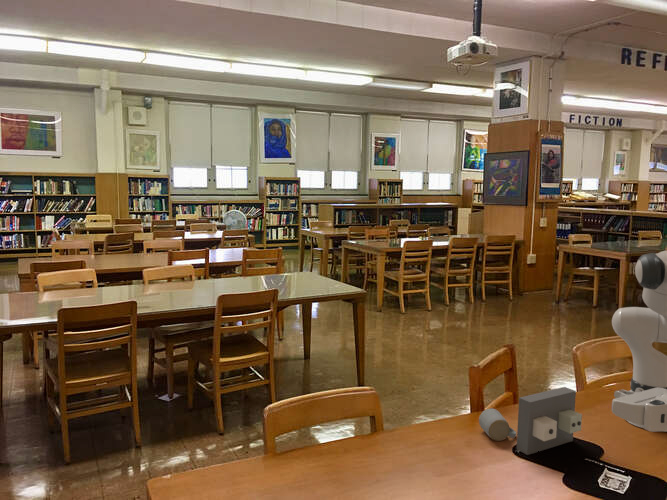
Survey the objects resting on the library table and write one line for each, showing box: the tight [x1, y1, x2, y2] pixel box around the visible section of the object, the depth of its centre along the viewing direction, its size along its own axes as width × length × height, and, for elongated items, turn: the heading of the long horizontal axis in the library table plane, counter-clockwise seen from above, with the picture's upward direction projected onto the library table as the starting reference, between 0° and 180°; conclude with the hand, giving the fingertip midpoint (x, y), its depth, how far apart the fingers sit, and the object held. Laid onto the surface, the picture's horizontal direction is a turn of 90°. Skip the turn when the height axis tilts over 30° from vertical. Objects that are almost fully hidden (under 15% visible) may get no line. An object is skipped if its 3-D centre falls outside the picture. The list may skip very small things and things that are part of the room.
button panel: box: [516, 386, 577, 456], centre depth 158 cm, size 20×4×16 cm, turn 118°
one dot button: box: [532, 416, 557, 441], centre depth 152 cm, size 5×5×5 cm
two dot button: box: [558, 409, 583, 434], centre depth 157 cm, size 5×5×5 cm
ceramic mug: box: [478, 408, 517, 442], centre depth 164 cm, size 11×8×8 cm
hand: (617, 392), depth 137 cm, fingers closed
